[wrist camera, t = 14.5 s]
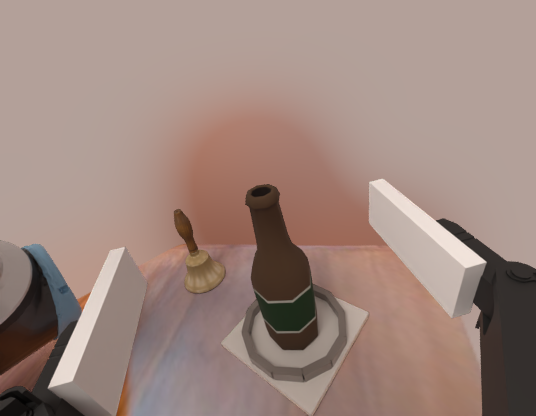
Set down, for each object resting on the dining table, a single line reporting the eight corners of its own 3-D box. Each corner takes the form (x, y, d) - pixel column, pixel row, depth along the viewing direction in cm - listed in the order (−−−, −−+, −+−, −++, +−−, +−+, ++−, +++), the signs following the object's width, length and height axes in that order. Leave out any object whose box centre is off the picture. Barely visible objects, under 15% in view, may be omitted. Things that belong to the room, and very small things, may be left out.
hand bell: (206, 257, 61) (180, 195, 52) (233, 270, 56) (209, 203, 47) (176, 283, 56) (141, 219, 47) (203, 300, 51) (169, 232, 42)
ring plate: (222, 346, 43) (217, 337, 41) (284, 276, 52) (282, 267, 51) (311, 417, 33) (309, 409, 32) (368, 315, 42) (368, 306, 41)
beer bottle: (328, 315, 43) (309, 175, 30) (308, 363, 37) (276, 217, 24) (282, 300, 46) (249, 171, 34) (259, 342, 41) (209, 207, 28)
